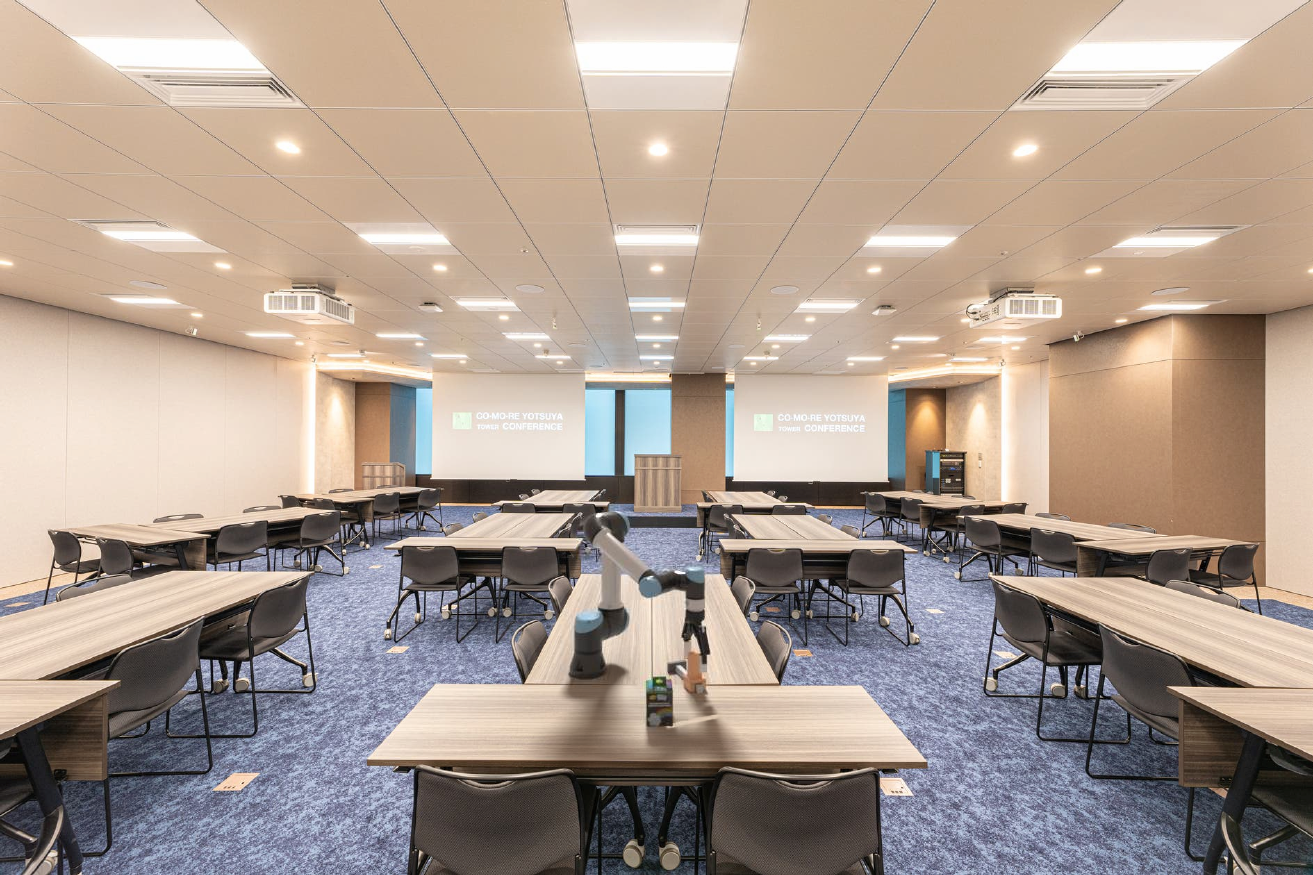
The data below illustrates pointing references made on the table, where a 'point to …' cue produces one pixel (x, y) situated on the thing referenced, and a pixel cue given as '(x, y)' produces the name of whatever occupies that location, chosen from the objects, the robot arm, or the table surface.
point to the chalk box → (659, 702)
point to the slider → (694, 672)
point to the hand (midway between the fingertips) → (695, 665)
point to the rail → (682, 672)
